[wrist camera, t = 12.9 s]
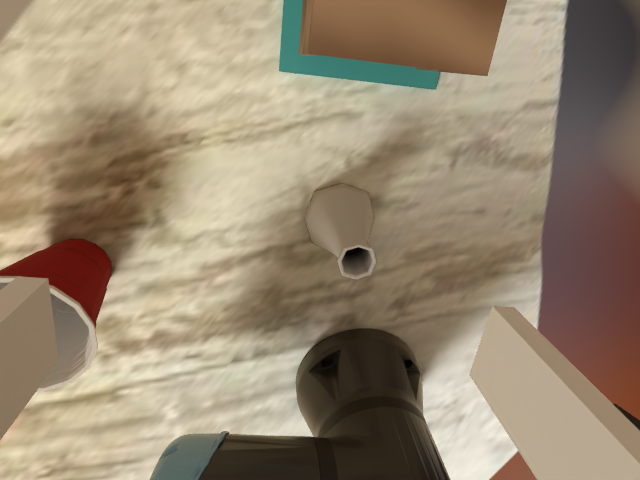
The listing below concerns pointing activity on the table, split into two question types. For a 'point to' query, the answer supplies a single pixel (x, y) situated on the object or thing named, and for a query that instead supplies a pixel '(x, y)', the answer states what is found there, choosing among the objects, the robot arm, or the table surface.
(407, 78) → the mat
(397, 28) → the brown wooden box frame
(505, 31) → the table surface
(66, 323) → the plastic cup
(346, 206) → the flask
